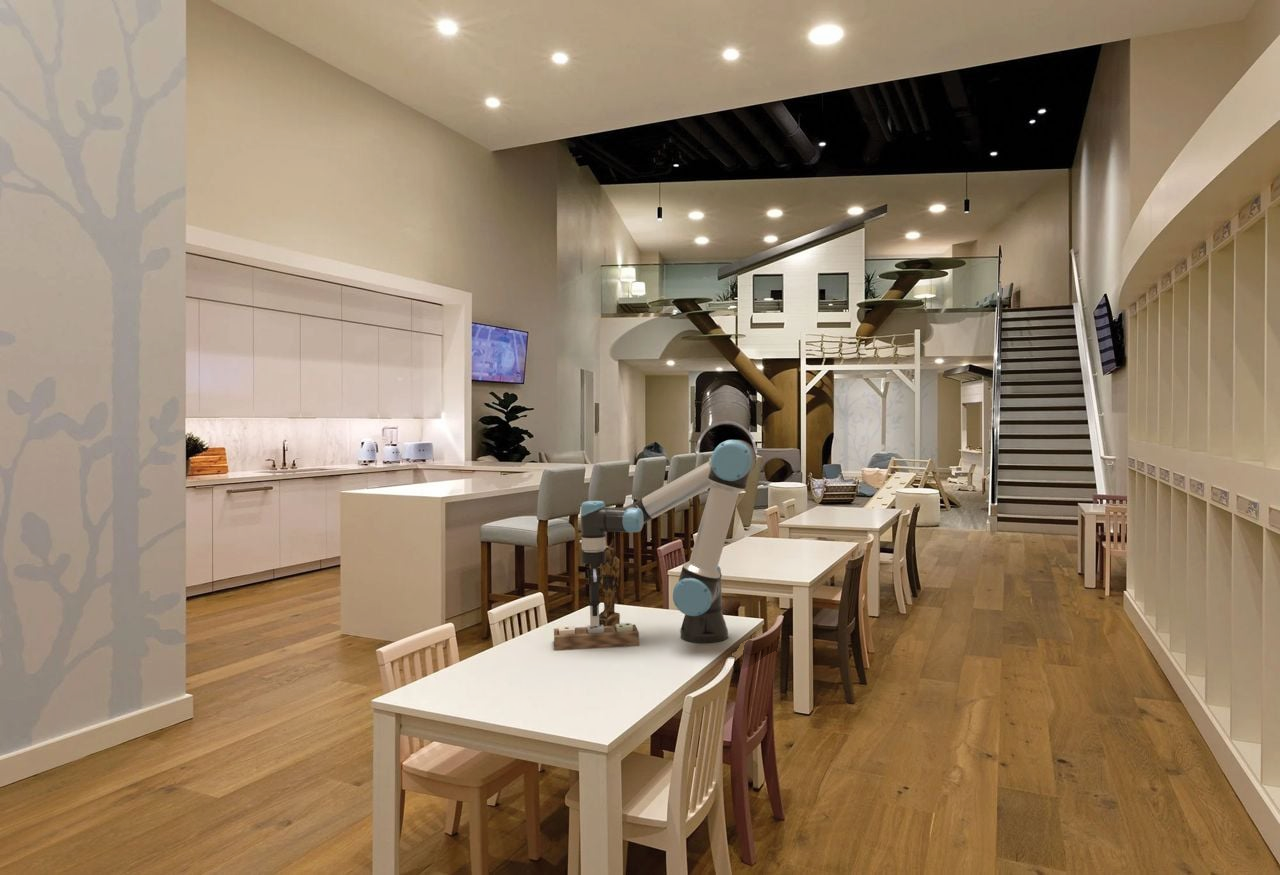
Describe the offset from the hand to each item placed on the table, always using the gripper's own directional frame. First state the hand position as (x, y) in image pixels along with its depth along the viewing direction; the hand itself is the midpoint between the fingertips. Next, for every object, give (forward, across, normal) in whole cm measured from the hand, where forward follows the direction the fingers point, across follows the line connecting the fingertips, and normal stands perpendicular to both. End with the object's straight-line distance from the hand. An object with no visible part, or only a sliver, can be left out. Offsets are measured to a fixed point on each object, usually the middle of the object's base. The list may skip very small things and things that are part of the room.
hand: (594, 625), depth 252 cm
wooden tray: (+6, 0, 0) cm, 6 cm away
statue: (+6, -19, +5) cm, 21 cm away
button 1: (+5, 0, -9) cm, 10 cm away
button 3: (+4, 0, 0) cm, 4 cm away
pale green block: (+4, 0, +9) cm, 10 cm away
